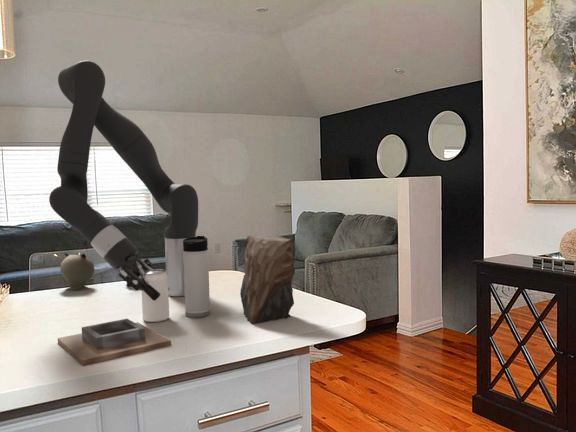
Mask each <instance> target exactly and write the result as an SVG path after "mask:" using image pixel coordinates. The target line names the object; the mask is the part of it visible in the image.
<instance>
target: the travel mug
mask: <svg viewBox="0 0 576 432" xmlns="http://www.w3.org/2000/svg"><path fill="white" fill-rule="evenodd" d="M208 243H209V242H208V238H207V237H205V235H196V237H192V238H187V239H184V240H183V247H184V248H183V262H184V289H185V296H184V311H185V312H184V313H185V316H186V317H187V318H194V319H195V318H196V319H197V318H199V319H200V318H204V317H207V316H209V315H210V314H211V303H210V301H211V300H210V299H211V298H210V276H209V275H210V272H209V265H210V264H209V248H208Z"/></svg>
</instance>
